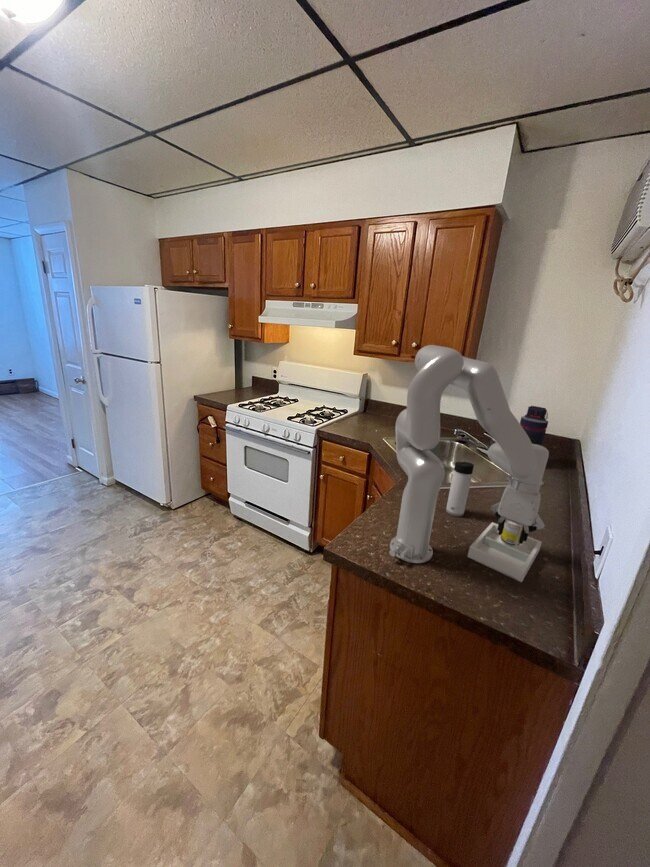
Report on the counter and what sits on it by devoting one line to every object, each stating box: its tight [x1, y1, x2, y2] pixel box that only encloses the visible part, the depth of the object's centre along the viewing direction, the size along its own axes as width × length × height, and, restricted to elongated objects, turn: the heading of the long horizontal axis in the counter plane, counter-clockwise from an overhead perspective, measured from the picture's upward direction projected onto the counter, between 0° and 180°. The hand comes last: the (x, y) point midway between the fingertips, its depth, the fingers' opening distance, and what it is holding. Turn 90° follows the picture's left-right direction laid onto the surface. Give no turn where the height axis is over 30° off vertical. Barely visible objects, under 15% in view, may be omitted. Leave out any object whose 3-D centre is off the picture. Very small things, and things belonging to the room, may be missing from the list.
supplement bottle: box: [501, 518, 524, 547], centre depth 111 cm, size 6×6×10 cm
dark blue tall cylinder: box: [519, 405, 549, 446], centre depth 181 cm, size 14×12×30 cm
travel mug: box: [445, 461, 475, 517], centre depth 129 cm, size 6×7×20 cm
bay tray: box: [467, 521, 542, 583], centre depth 109 cm, size 20×15×4 cm
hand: (511, 536), depth 112 cm, fingers closed on supplement bottle, 5 cm apart
